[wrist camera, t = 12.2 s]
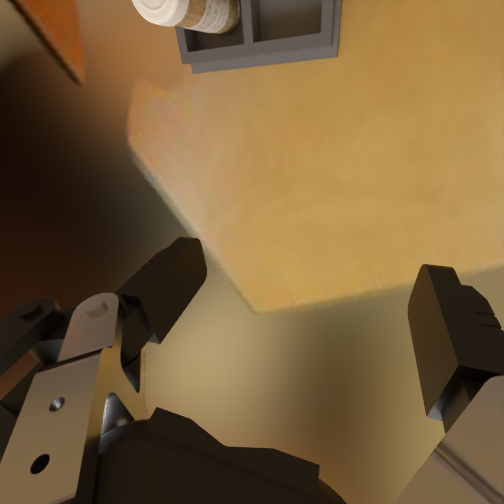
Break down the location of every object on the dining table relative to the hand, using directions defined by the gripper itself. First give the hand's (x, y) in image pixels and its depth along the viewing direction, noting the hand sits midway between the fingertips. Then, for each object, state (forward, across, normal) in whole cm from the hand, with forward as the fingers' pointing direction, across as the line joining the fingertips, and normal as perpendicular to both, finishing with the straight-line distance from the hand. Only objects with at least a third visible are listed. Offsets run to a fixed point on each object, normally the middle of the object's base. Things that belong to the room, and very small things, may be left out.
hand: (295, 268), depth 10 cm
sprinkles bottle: (+29, +14, -12) cm, 35 cm away
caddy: (+30, +10, -12) cm, 34 cm away
